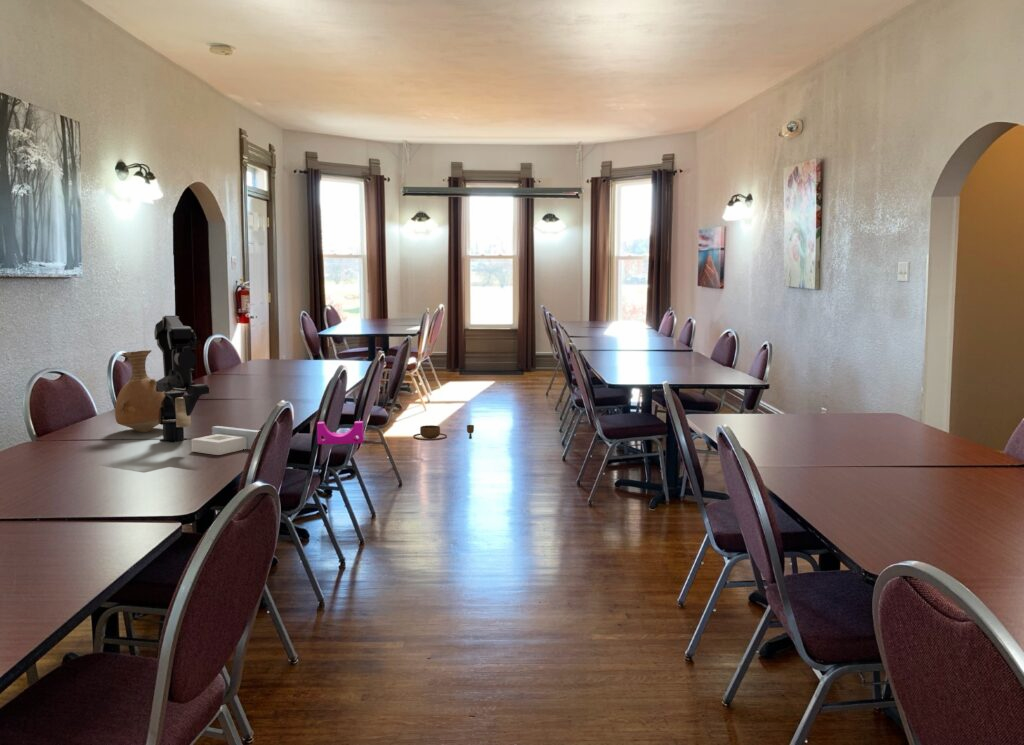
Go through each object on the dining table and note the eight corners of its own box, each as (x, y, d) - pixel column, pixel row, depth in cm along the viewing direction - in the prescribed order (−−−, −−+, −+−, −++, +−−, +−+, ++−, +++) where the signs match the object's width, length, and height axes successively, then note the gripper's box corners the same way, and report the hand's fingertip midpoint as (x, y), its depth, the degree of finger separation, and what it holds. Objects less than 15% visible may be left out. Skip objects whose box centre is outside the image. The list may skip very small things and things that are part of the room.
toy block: (363, 441, 301) (363, 419, 301) (362, 444, 295) (362, 422, 294) (319, 442, 300) (319, 420, 299) (317, 445, 294) (317, 423, 293)
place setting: (435, 435, 316) (435, 419, 316) (477, 441, 304) (477, 425, 303) (400, 441, 303) (400, 425, 302) (442, 448, 290) (442, 431, 290)
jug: (123, 440, 300) (120, 353, 297) (106, 432, 314) (103, 349, 311) (181, 433, 313) (178, 350, 310) (162, 426, 327) (159, 347, 324)
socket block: (191, 451, 280) (191, 439, 280) (220, 445, 291) (219, 433, 290) (218, 455, 274) (218, 442, 274) (246, 448, 285) (246, 436, 285)
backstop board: (212, 444, 293) (211, 426, 292) (218, 443, 295) (217, 425, 294) (256, 450, 283) (256, 432, 283) (262, 448, 286) (261, 430, 285)
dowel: (173, 426, 277) (171, 398, 276) (184, 424, 281) (183, 396, 280) (182, 427, 275) (181, 399, 274) (194, 425, 279) (192, 397, 278)
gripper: (140, 367, 274) (142, 416, 276) (180, 370, 265) (182, 420, 266) (170, 364, 284) (172, 411, 285) (210, 367, 274) (211, 416, 276)
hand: (183, 415), depth 278 cm, fingers closed on dowel, 4 cm apart
